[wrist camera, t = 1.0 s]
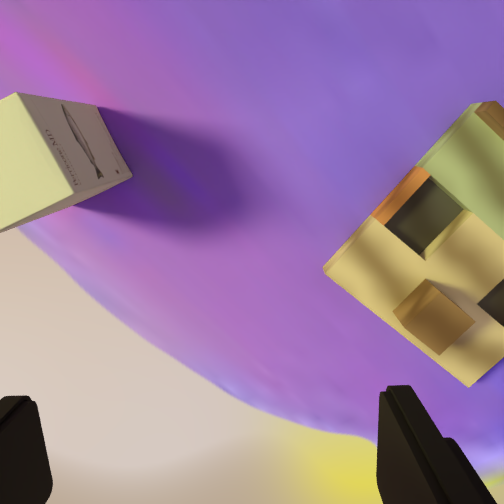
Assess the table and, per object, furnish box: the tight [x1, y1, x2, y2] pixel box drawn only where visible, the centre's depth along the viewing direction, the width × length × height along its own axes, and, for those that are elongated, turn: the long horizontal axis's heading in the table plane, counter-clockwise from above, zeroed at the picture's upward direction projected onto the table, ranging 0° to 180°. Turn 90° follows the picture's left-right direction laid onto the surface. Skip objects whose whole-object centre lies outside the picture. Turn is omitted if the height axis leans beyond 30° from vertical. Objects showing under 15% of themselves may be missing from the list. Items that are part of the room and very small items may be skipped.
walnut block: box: [392, 279, 476, 356], centre depth 38 cm, size 4×4×4 cm
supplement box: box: [0, 92, 133, 233], centre depth 32 cm, size 7×7×13 cm
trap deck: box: [322, 101, 504, 388], centre depth 38 cm, size 20×20×4 cm
